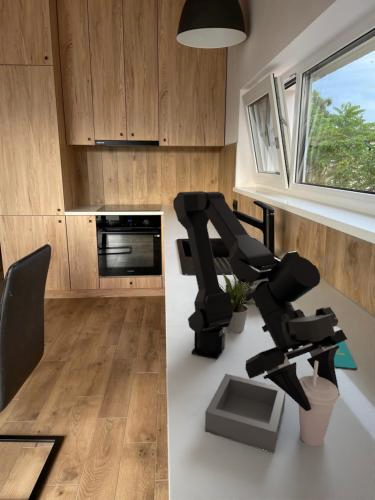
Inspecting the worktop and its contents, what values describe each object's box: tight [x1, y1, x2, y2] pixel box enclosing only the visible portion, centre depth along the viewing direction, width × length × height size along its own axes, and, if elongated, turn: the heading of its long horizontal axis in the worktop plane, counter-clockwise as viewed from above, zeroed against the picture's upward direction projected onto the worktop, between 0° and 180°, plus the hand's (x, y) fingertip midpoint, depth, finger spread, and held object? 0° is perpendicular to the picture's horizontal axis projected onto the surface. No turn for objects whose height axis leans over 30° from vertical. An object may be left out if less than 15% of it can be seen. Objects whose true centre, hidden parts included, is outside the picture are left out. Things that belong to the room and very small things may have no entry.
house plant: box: [219, 271, 260, 334], centre depth 93 cm, size 14×14×16 cm
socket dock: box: [204, 373, 287, 454], centre depth 61 cm, size 12×12×4 cm
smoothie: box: [298, 361, 340, 447], centre depth 56 cm, size 6×6×14 cm
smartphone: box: [333, 341, 358, 371], centre depth 84 cm, size 7×1×15 cm
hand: (323, 403), depth 55 cm, fingers closed on smoothie, 6 cm apart
